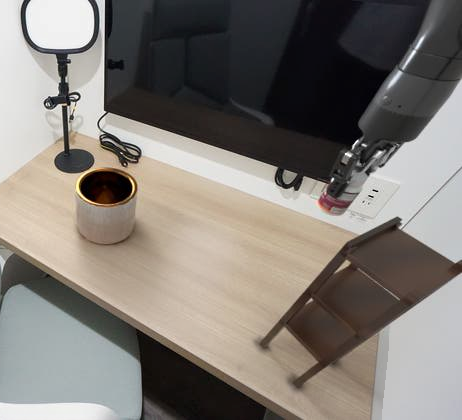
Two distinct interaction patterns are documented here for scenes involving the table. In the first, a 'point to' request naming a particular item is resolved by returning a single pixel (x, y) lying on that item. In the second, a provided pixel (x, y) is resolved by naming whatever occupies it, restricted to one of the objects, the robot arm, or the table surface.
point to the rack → (363, 293)
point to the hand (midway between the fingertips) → (342, 190)
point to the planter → (105, 204)
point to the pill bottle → (346, 199)
